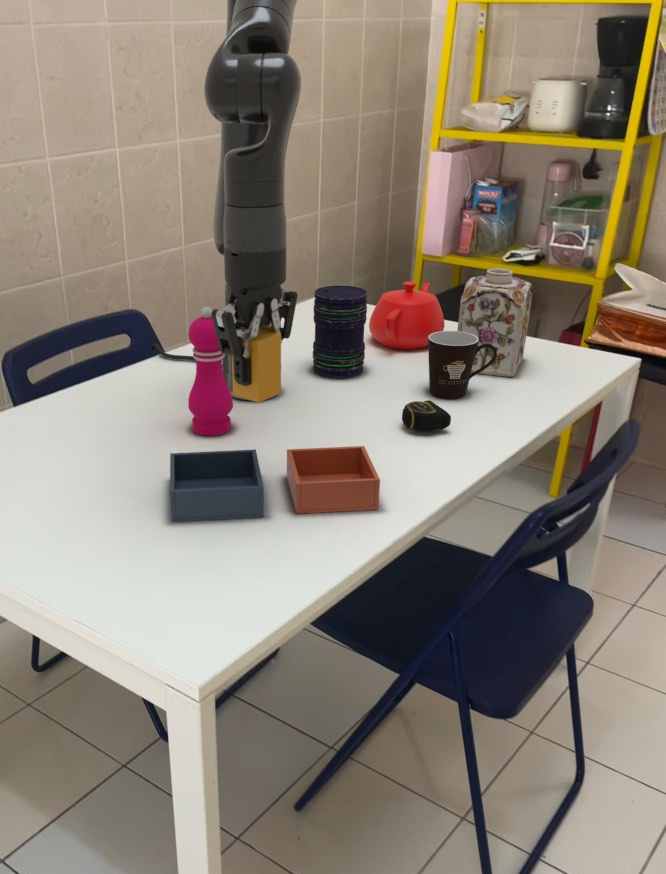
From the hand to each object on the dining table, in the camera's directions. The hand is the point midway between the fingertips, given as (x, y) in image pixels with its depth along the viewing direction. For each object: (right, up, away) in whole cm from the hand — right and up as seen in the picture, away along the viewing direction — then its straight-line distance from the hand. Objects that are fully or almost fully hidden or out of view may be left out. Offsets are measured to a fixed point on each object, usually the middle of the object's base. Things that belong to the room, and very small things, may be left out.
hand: (256, 378), depth 114 cm
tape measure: (+27, -3, +30) cm, 41 cm away
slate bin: (-6, -15, +8) cm, 18 cm away
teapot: (+31, +21, +70) cm, 80 cm away
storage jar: (+15, +11, +54) cm, 57 cm away
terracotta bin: (+10, -14, +9) cm, 20 cm away
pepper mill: (-8, -3, +30) cm, 31 cm away
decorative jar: (+45, +13, +56) cm, 73 cm away
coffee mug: (+35, +5, +43) cm, 56 cm away
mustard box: (0, -2, +1) cm, 2 cm away
